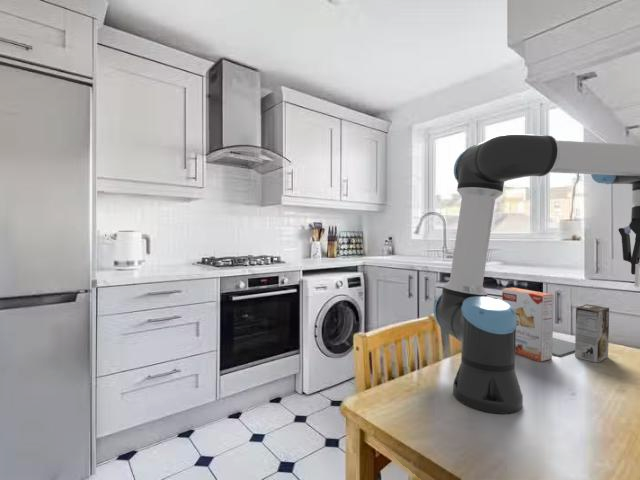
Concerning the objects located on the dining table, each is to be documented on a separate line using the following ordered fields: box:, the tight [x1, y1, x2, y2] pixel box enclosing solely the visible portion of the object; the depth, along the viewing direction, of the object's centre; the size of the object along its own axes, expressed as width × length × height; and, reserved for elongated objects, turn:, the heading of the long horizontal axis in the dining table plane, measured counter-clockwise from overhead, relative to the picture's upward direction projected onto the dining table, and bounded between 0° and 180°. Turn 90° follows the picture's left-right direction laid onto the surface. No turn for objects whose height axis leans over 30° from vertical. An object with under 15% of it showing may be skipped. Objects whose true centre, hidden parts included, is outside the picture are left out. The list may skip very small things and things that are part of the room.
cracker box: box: [501, 287, 554, 363], centre depth 116 cm, size 14×6×21 cm, turn 25°
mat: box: [552, 337, 575, 358], centre depth 124 cm, size 18×14×1 cm
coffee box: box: [574, 303, 610, 364], centre depth 113 cm, size 9×6×16 cm
